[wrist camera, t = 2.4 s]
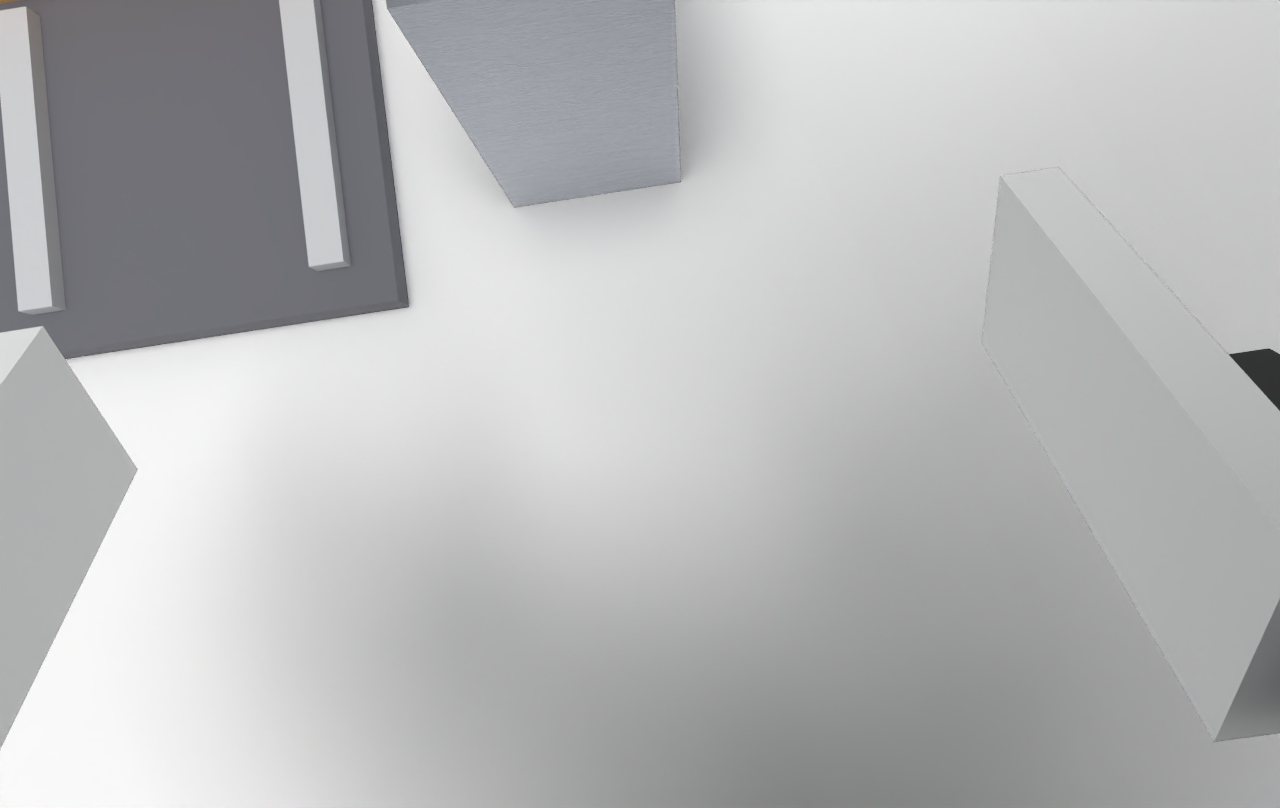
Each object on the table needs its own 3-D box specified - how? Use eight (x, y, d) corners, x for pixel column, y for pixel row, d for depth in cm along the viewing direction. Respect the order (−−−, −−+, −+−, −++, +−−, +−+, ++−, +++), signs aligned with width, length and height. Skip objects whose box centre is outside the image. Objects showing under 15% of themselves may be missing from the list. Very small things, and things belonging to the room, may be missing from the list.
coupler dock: (362, -75, 29) (311, -162, 25) (408, 306, 28) (362, 277, 24) (-13, -12, 30) (-121, -88, 26) (18, 365, 29) (-89, 347, 25)
